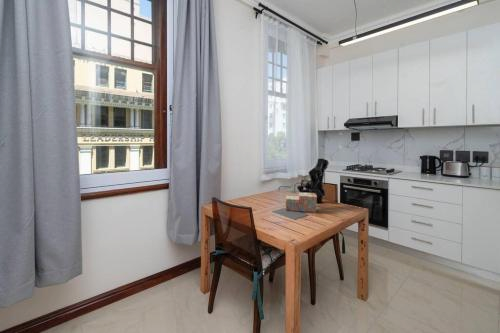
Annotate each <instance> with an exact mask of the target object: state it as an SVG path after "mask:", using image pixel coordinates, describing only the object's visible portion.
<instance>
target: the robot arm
mask: <svg viewBox="0 0 500 333" xmlns="http://www.w3.org/2000/svg"><path fill="white" fill-rule="evenodd" d="M329 163H330V162H329V160H328V159H326V158H318V159H317V163H316V165H315V167H313V168H312V169H311V170H309V171H308V176H309V178H310V180H302V183H301V185H297V187H296V189H297V190H298V191H299V193H316V195H317V204H323V203H325V201H323V197H325V196H326V194H325V193H326V192H325V189H324V186H323V185H324V184H323V183H324V182H323V181H324V176H325V171H326V170H327V169H328V166H329Z"/></svg>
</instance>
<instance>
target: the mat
mask: <svg viewBox="0 0 500 333" xmlns="http://www.w3.org/2000/svg"><path fill="white" fill-rule="evenodd" d="M271 212H272V213H275V214H278V215H281V216H284V217H286V218H289V219H293V220H297V219H301V218H304V217H308V216H309V214H308V213H305V212H302V211H289V210H286V207H283V208H280V209H275V210H271Z"/></svg>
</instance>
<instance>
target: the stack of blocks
mask: <svg viewBox="0 0 500 333" xmlns="http://www.w3.org/2000/svg"><path fill="white" fill-rule="evenodd" d="M317 204H318V203H317V195H316V193H302V192H298V195H286V196H285V207H284V208H286V210H289V211H298V212H304V213H305V212H308V213H316V211H317Z"/></svg>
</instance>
